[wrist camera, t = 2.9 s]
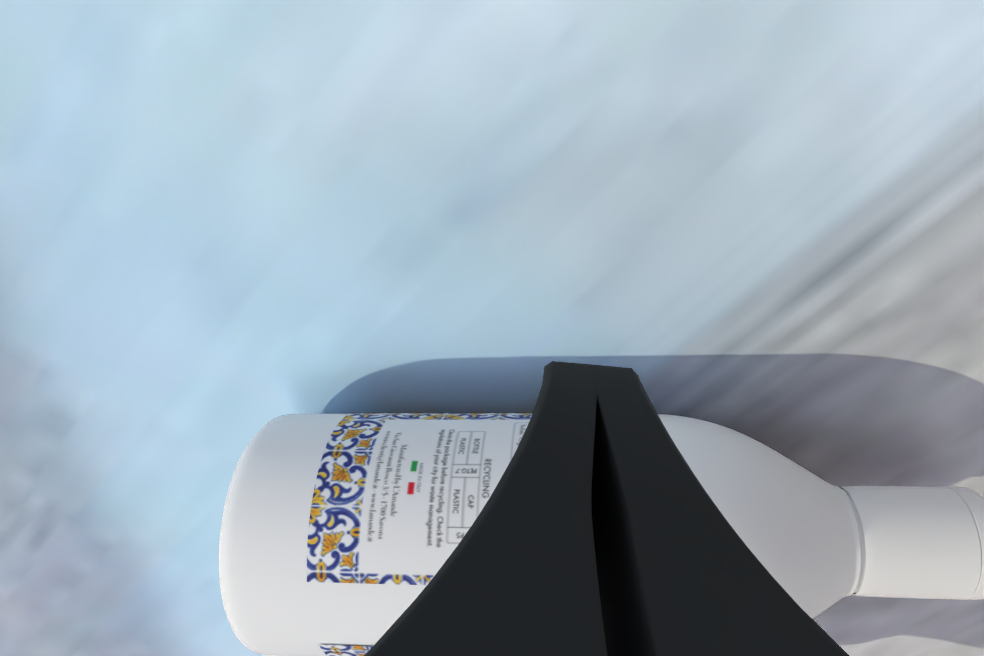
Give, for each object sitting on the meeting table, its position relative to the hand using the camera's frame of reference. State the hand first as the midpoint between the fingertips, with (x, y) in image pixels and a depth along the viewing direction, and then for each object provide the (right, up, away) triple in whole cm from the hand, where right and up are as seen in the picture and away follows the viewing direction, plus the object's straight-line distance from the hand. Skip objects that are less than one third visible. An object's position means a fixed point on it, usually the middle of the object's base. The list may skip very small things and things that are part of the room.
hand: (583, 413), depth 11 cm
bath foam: (-8, -5, +10) cm, 14 cm away
